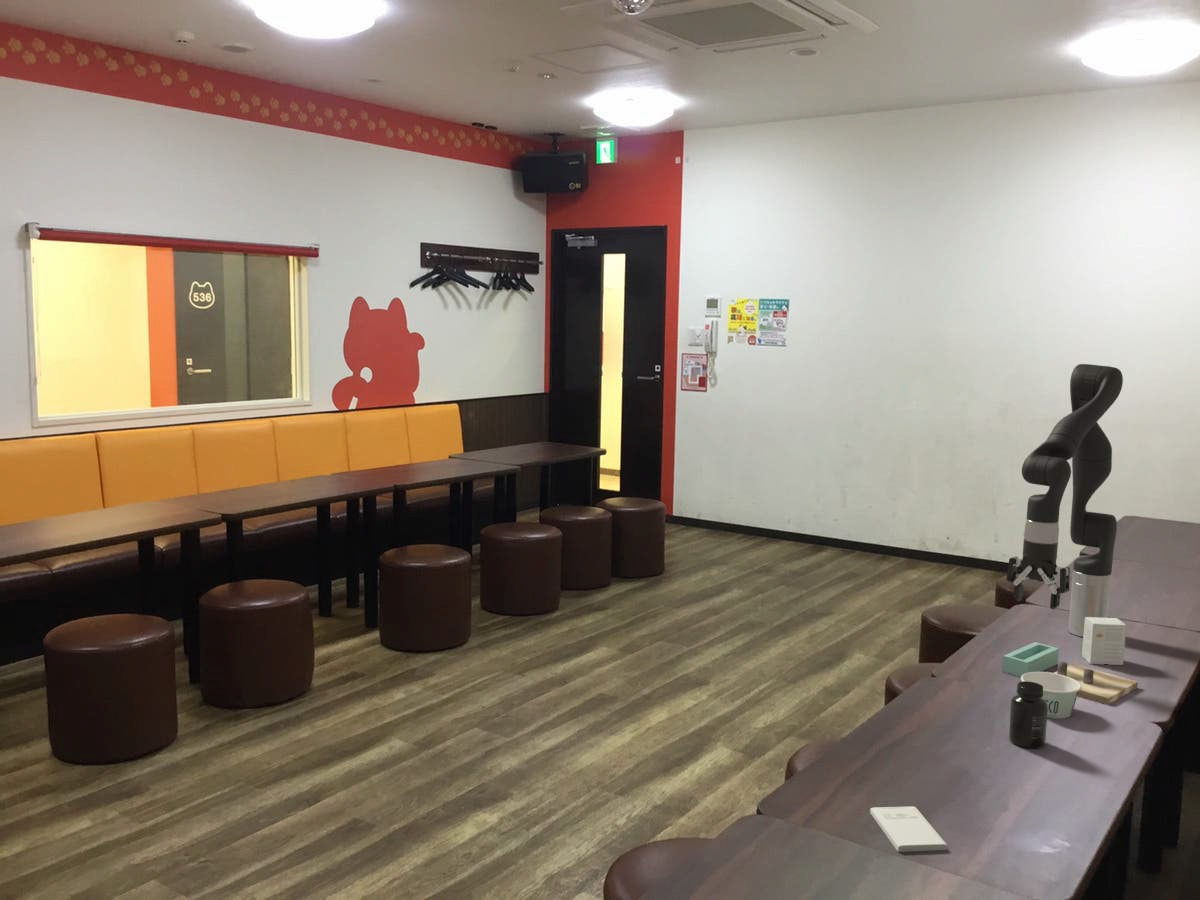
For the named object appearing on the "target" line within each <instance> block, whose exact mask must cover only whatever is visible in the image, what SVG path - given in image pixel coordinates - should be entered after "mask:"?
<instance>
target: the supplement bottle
mask: <svg viewBox="0 0 1200 900" xmlns="http://www.w3.org/2000/svg"><path fill="white" fill-rule="evenodd" d="M1042 697H1043V686H1042V685H1040V684H1038V683H1035V682H1029V681H1022V680H1021V681H1019V682H1018V683H1017V685H1016V694H1015V695H1014V696H1012V698H1011V700H1010V710H1009V725H1008V727H1009V729H1008V739H1009V741H1010V742H1011V743H1012V744H1014V745H1015V746H1018V747H1021V748H1023V749H1034V750H1036V749H1040V748H1043V747H1044V746H1045V745H1046V742H1047V741H1046V740H1047V726H1048V725H1047V724H1048V723H1047V722H1048V717H1047V711H1048V705H1047V702H1046V701H1045V700H1044V699H1043V698H1042Z"/></svg>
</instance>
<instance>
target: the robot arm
mask: <svg viewBox="0 0 1200 900" xmlns="http://www.w3.org/2000/svg"><path fill="white" fill-rule="evenodd" d="M1123 383H1124V377H1123V373H1122V371H1121V370H1120V369H1119V368H1117V367H1113V366H1109V365H1108V366H1107V365H1099V364H1088V363H1081V364H1080V363H1079V364H1077V365H1076V366H1074V367H1073V369H1072V372H1071V376H1070V380H1069V392H1070V393H1069V394H1070V395H1069V396H1070V405H1071V412H1070V413H1069V414H1067V415H1066V416H1064V417H1062V419H1060V420H1059V421H1058V422H1057V423H1056V424H1055V426H1054V427H1053V428H1052V430H1051V432H1050V434H1049V435H1048V437H1047V438H1046V440H1045V441H1044V442H1043V443H1041V444H1040V445H1039V446H1037V448H1035V449H1034V450H1033V451H1031V452H1030V453H1029V454H1028V455H1027V457H1026V458H1025V459H1024V462H1022V463H1023V464H1022V466H1021V476H1022V478H1023V480H1024V481H1025V482H1027V483H1029V484H1032V485H1037V486H1043V487H1045V486H1046V487H1048V490H1047V492H1046V493H1044V494H1033V495H1031V496H1029V498H1027V499H1028V500H1027V506H1026V518H1025V519H1026V521H1025V525H1024V530H1023V531H1024V532H1023V545H1022V546H1023V547H1022V558H1019V557H1018V556H1014V557H1010V558H1009V559H1008V565H1007V571H1006V581H1007V582H1008V583H1011V584H1013V598H1014V600H1015V601H1017V602H1020V601H1022V600H1023V593H1024V585H1023V583H1024V582H1025V581H1026V580H1027V579H1029V580H1032V581H1035V580H1036V581H1038V582H1042V583H1043V582H1044V583H1045V585H1046V586H1047V587H1048V588H1049V590H1050V591H1051V593H1050V602H1049V604H1050V605H1049V609H1051V610H1056V609H1057V608H1058V607H1059V606H1060V604H1061V603H1060V602H1061V595H1062V594H1065V593H1068V592H1069V591H1070V587H1071V594H1070V595H1071V596H1070V604H1069V605H1070V608H1069V618H1068V630H1067V631H1068V632H1069V633H1070V634H1072V635H1074V636H1077V637H1082V638H1083V635H1084V623H1085V617H1098V618H1109V617H1108V616H1109V604H1110V595H1111V593H1110V592H1111V583H1112V571H1113V562H1114V561H1113V560H1114V552H1115V551H1114V550H1115V543H1116V538H1117V537H1116V536H1117V530H1118V521H1117V519H1116V516H1115V515H1113V514H1109V513H1102V512H1094V511H1093V512H1092V511H1087V505H1088V503H1089V500H1090V499H1091V498H1092V497H1093V496H1094V494H1095V493H1096V491H1097V490H1098V489H1099V488H1101V486H1102V485H1103V484H1104V483H1105V482H1106V480H1107V479H1108V477H1109V476H1110V474H1111V472H1112V466H1113V464H1112V461H1113V448H1112V444H1111V442H1110V440H1109V438H1108V436H1107V434H1106V433H1105V432H1104V430H1103V429H1102V428H1101V425H1100V424H1099V423H1098V421H1100V419H1101V418H1102V417H1103V416H1104V415H1105V414H1106V412H1107V411H1108V410H1109V409H1110V408H1111V406H1112V405H1114V403H1115V402H1116V400H1118V398H1119V395H1120V393H1121V391H1122V388H1123ZM1069 460H1072V461H1071V465H1070V462H1069ZM1071 475H1072V501H1071V502H1072V503H1071V514H1070V527H1069V528H1070V529H1069V531H1070V532H1069V534H1070V540H1071V542H1072V543H1073V544H1075V545H1078V546H1082V547H1083V546H1084V547H1091V548H1099V551H1098V552H1097V553H1094V554H1092V555H1088V556H1081V557H1078V558H1075V559H1074V560H1073V568H1072V581H1071V586H1070V579H1071V577H1070V575H1071V570H1070V569H1071V568H1070V567H1069V566H1066V567H1061V566H1058V565H1057V558H1058V546H1059V534H1060V528H1059V527H1060V525H1059V521H1060V508H1061V503H1062V500H1063V497H1064V493H1065V491H1066V489H1067V486H1068V484H1069V481H1070V479H1071ZM1020 566H1021V568H1022V570H1023V571H1022V572H1021V573H1020V574H1019V575H1018V576H1017V574H1018V567H1020ZM1055 573H1057V575H1058V577H1059V582H1058V580H1057V577H1056V576H1055Z"/></svg>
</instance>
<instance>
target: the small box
mask: <svg viewBox="0 0 1200 900" xmlns="http://www.w3.org/2000/svg"><path fill="white" fill-rule="evenodd" d="M1126 634H1127V624H1126V623H1124V622H1123V621H1122V620H1120V619H1119V618H1117V617H1108V618H1098V617H1085V623H1084V635H1083V637H1082V638H1083V639H1082V649H1081V657H1082V658H1083V657H1084V658H1085V659H1086V660H1085V659H1084V658H1083V659H1084V660H1085V661H1087V662H1088V663H1089V664H1090V663H1092V664H1091V665H1104V664H1108V665H1109V666H1124V660H1125V659H1124V657H1125V646H1126ZM1108 665H1107V666H1108Z"/></svg>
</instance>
